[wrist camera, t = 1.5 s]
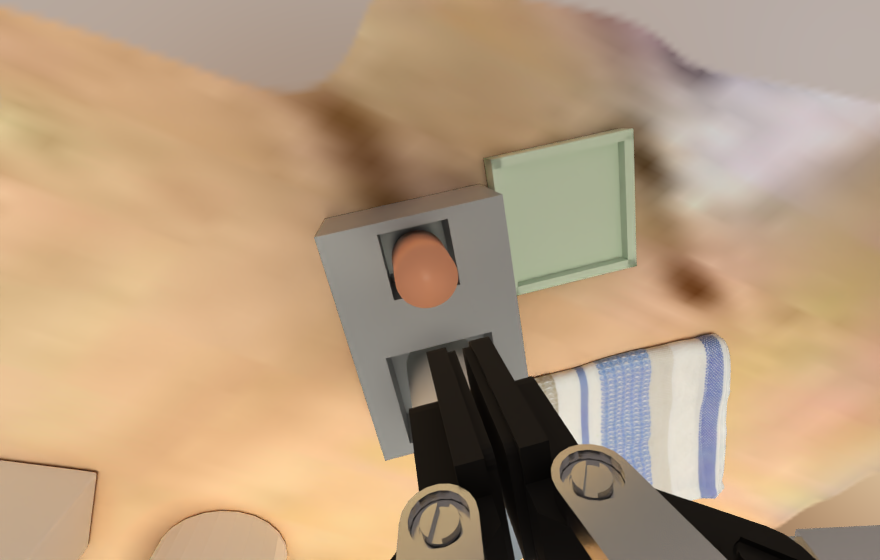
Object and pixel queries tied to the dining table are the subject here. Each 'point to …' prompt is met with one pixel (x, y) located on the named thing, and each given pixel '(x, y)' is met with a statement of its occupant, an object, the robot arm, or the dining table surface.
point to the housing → (412, 328)
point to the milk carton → (44, 511)
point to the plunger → (423, 269)
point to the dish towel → (654, 411)
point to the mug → (221, 539)
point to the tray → (568, 208)
